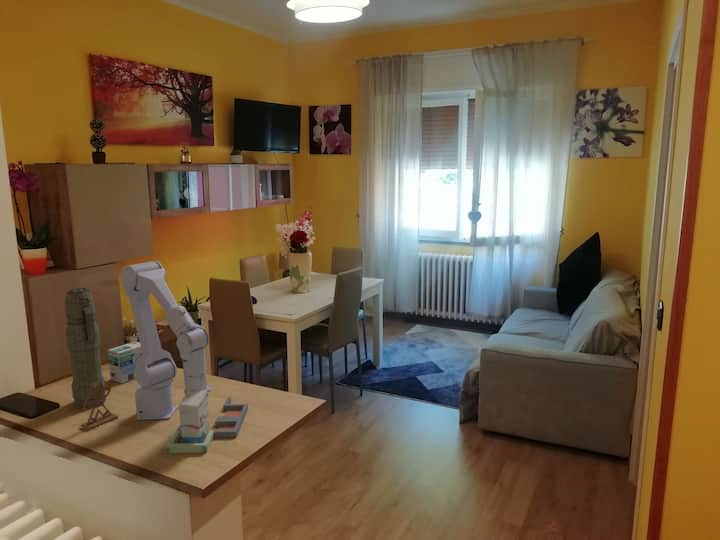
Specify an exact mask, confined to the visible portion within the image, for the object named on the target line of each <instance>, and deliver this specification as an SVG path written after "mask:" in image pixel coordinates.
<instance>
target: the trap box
mask: <svg viewBox="0 0 720 540" xmlns="http://www.w3.org/2000/svg"><path fill="white" fill-rule="evenodd" d="M222 409H223V411H225V413H224V415H223V416H217V417H216V418H215V421H214V426H215V428H217V429H216V430H213V429H211V430H210V431H209V432H208V433H207V435H206V436H207V437H205V439H204V441H203V442H202V443H184V444H182V443H177V442H178V441H179V440H180V438H181V437H182V434H181V424H180V425H179V426H178V427H177V429H176V431H175V432H174V434H173V436H172V437H171V438H170V440H169V441H168V443H166V444H165V454H190V453H191V454H193V453H195V454H196V453H197V454H200V453H201V454H202V453H207V452H208V450H209V448H210V446H211V443H213V440H214V438H215V439H216V438H237V437H238V436H239V435H238V434H239V432H240V430H241V427H242V425H243V423H244V420H245V417H246V415H247V413H248V410H249V404H248V403H232V397H231V396H227V397H226V400H225V401H224V403H223V407H222Z"/></svg>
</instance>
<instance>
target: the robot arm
mask: <svg viewBox="0 0 720 540" xmlns="http://www.w3.org/2000/svg"><path fill="white" fill-rule="evenodd" d="M120 280H121V284H122V288H123V291H124V294H125V296H127V297H128V301H129V303H130V304H129V305H130V309H131V312H132V317H133V320H134V324H135V329H136V332H137V333H136V334H137V336H138V341H139V343H140V345H141V349H142V353H143V354H142V355H141V356H140V358H139V359H138V360H137V362H136V363H135V365H136V379H135V380H136V382H137V383H138V386H137V387H136V389H135V394H134V395H135V396H134V398H135V411H136V417H135V419H136V420H138V421H139V420H140V421H141V420H168V419H171V418H172V416H173V415H174V413H175V412H176V410H177V409H178V408H179V406H178V405H174V404H173V403H174V402H173V393H172V392H173V391H172V383H173V382H174V379H175V378H176V376H177V373H178V372H177V371H178V369H177V365H176V363H175V361H174V360H173V357H172V354H171V352H168V351H167V350H164V349H163V348H162V345H161V340H160V336H159V333H158V328H157V324H156V320H155V317H154V313H153V308H152V305H151V301H150V294H152V296H153V297H154V299H155V300H156V301H157V302H158V303H159V304H160V305H159V306H161V307H162V309H163V310H164V312H165V315H164V320H165V321H166V322H167V324H168V326H169V327H170V329H171V330H172V332H173V333H174V335H175V336H176V341H175V343H176V347H177V349H178V351H179V356H180V358H181V359H182V368H183V382H184V390H183V391H184V392H183V393H184V396H185V395H186V393H187V392H188V390H189V391H198V390H207V398H209V393H211V391H212V390H213V387H212V386H208V379H207V378H208V377H207V364H206V352H205V351H206V350H205V349H206V347H208V345H209V343H210V338H209V334H208V332H207V330H206V329H205V327H204V326H201V325H199V324H198V323H196V322H195V321H194V320H193V317H192V316H191V315H190V313H189V312H188V311H187V309H186V307H185V306H183V305H179V304H178V303H177V301H176V299H175V297H174V295H173V294H172V291H171V290H170V288H169V286H168V283H166V271H165V269H164V267H163V265H162V264H161V262H160V261H158V260H151V261H148V262H147V261H146V262H141V263H135V264H126V265H124V267H123V268H122V271H121V273H120Z"/></svg>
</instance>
